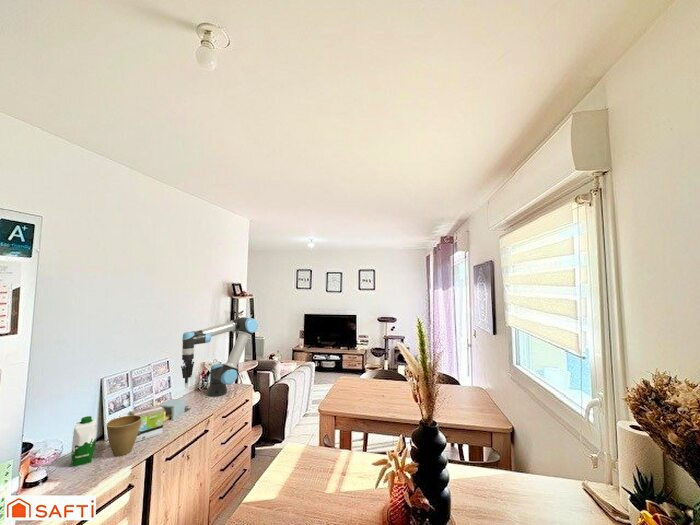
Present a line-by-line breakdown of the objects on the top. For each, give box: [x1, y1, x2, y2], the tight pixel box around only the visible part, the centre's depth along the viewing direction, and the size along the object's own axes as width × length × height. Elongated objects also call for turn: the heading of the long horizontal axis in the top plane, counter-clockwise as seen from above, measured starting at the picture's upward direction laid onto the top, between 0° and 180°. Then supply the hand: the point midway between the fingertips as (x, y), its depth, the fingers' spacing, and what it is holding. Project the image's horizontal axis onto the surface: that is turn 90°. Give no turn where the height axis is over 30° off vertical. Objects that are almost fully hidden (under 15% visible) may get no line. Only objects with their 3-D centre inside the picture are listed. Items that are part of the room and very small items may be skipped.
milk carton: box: [71, 415, 98, 468], centre depth 152 cm, size 9×9×20 cm
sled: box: [163, 411, 172, 423], centre depth 203 cm, size 24×6×6 cm, turn 176°
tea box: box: [128, 404, 164, 443], centre depth 179 cm, size 15×10×15 cm, turn 143°
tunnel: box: [158, 398, 192, 423], centre depth 208 cm, size 33×10×9 cm, turn 176°
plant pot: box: [106, 415, 142, 457], centre depth 161 cm, size 15×15×16 cm
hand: (187, 387), depth 223 cm, fingers closed
